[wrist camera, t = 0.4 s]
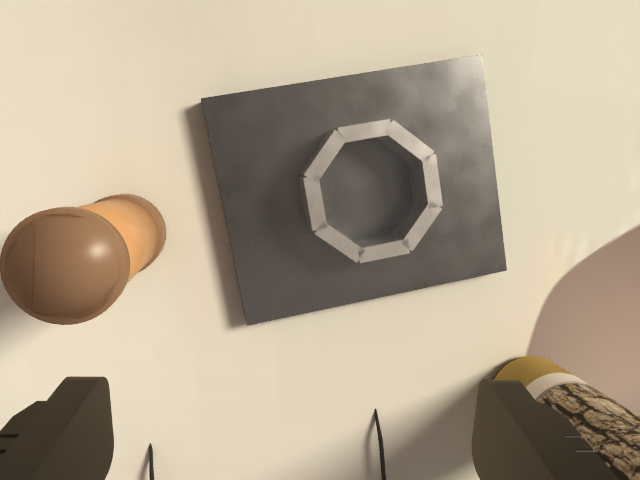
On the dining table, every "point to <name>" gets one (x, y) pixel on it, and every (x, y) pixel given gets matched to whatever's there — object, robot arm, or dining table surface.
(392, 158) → the plate
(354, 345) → the dining table surface
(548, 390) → the paper tube
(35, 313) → the capped orange cylinder
